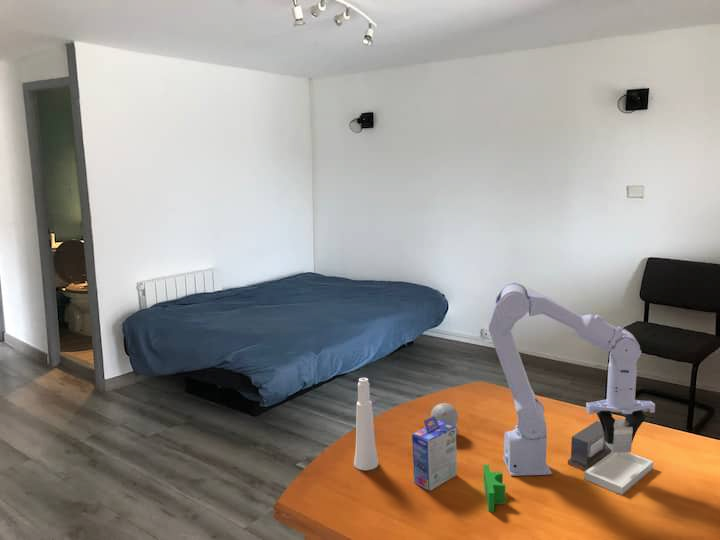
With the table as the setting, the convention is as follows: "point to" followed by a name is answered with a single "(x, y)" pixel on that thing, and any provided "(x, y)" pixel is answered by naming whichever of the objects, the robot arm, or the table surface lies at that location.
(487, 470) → the pipe clamp
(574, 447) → the mounted housing
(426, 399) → the table surface
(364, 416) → the cosmetic bottle
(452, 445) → the ink cartridge box
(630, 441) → the block
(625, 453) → the tray
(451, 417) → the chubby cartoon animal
